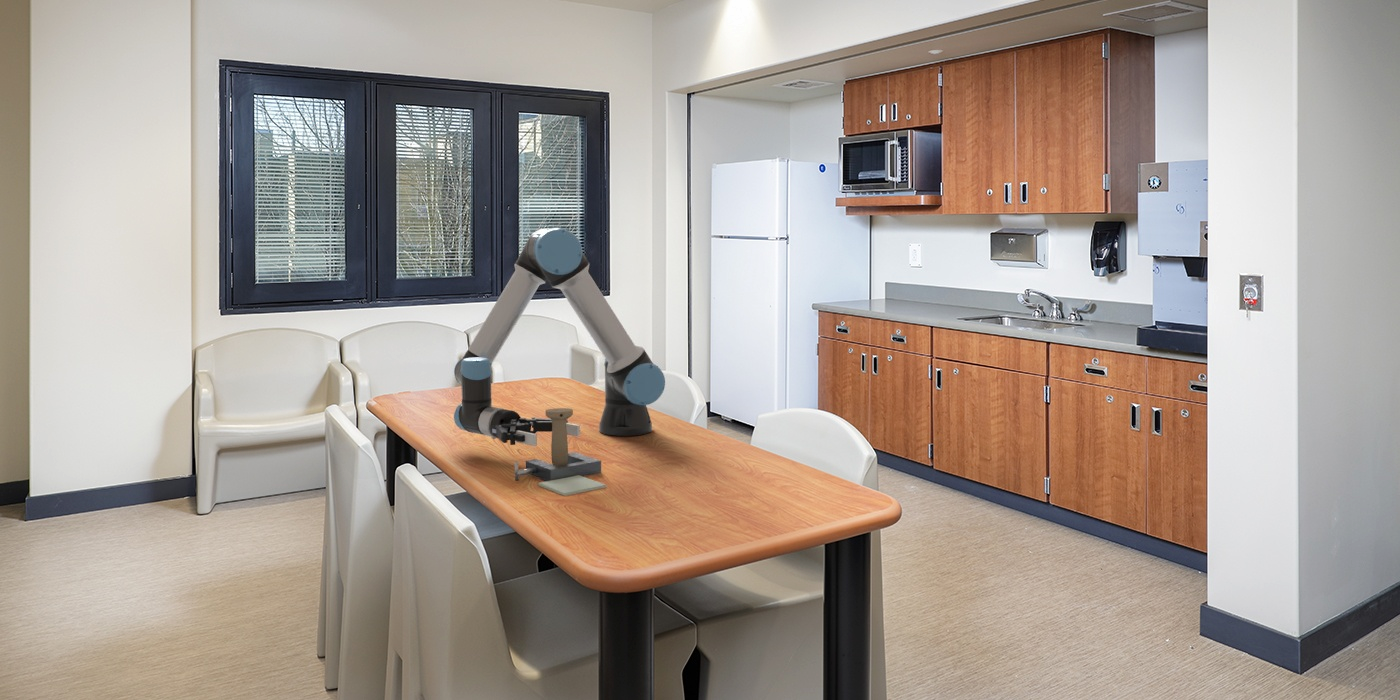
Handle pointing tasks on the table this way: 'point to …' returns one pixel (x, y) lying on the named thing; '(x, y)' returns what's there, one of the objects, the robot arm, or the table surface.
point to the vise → (560, 468)
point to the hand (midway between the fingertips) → (557, 435)
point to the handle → (559, 434)
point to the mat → (572, 485)
